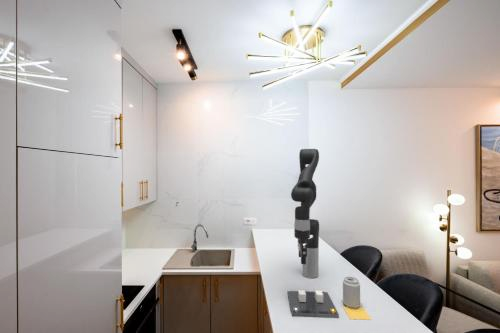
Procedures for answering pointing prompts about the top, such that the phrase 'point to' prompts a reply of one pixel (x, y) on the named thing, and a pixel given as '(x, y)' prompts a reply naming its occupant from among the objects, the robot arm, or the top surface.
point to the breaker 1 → (302, 295)
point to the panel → (312, 305)
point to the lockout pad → (356, 313)
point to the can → (351, 292)
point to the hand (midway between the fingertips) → (302, 260)
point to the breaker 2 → (319, 296)
